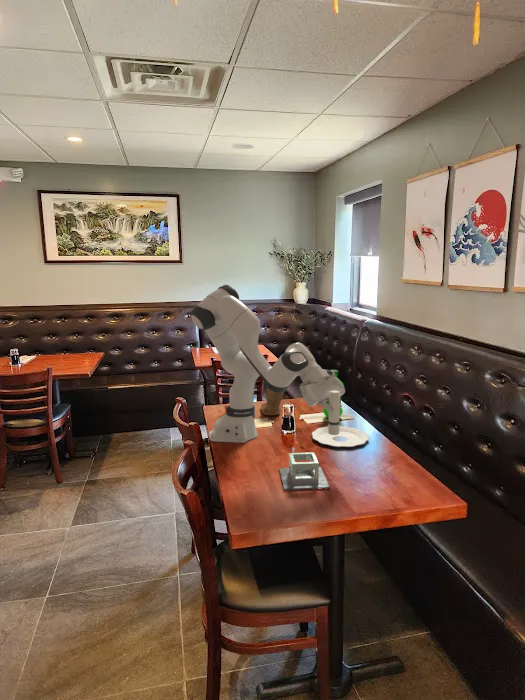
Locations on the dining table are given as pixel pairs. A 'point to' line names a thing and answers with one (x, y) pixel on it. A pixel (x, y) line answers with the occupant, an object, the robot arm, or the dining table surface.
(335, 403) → the cream tall rounded cylinder
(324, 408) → the plastic bottle
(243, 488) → the dining table surface
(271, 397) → the stone cup
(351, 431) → the plate
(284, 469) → the collar holder
